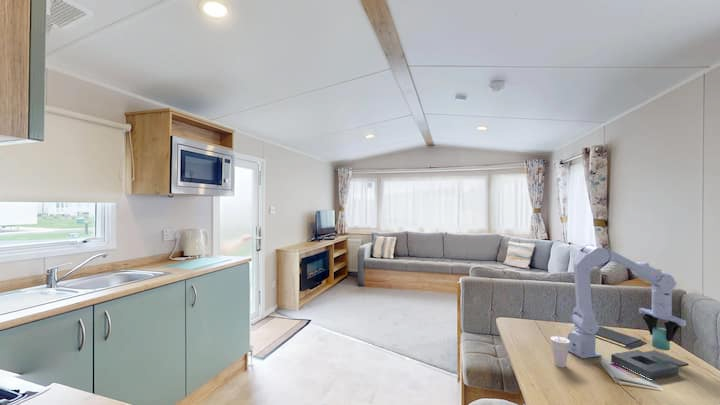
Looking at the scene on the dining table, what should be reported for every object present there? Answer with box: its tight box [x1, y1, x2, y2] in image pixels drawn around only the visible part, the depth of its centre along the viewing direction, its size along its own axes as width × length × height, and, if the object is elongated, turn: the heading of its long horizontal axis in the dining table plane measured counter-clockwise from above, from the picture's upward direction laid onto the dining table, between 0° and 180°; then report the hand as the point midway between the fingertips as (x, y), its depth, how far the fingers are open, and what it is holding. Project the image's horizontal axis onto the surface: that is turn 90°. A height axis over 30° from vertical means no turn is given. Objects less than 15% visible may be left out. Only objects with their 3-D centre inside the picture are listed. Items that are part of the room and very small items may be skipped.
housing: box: [610, 349, 679, 381], centre depth 118 cm, size 14×13×3 cm
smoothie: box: [550, 326, 570, 368], centre depth 120 cm, size 6×6×14 cm
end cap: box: [651, 326, 671, 351], centre depth 124 cm, size 5×5×7 cm
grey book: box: [596, 325, 648, 351], centre depth 144 cm, size 20×2×15 cm
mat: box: [643, 350, 689, 367], centre depth 124 cm, size 11×11×1 cm
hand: (661, 337), depth 124 cm, fingers closed on end cap, 5 cm apart
